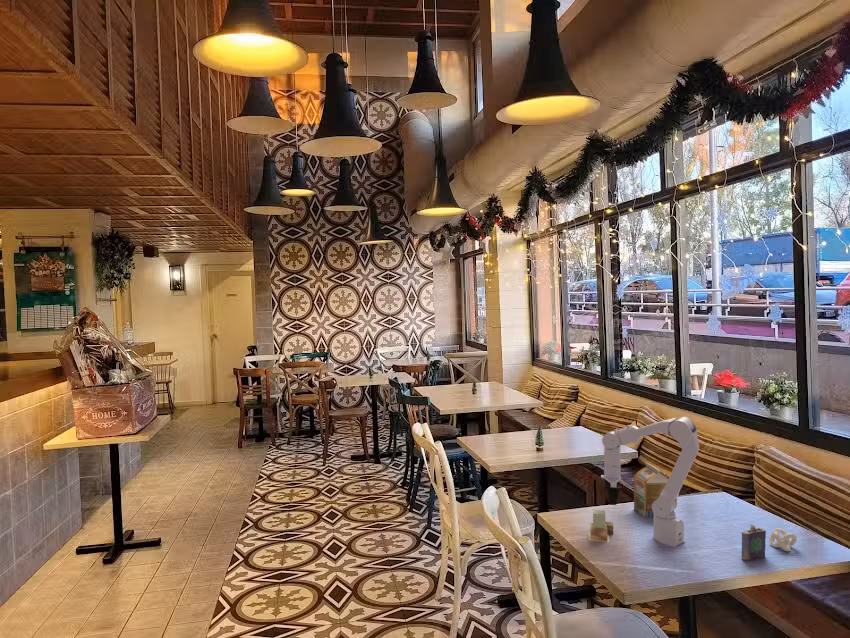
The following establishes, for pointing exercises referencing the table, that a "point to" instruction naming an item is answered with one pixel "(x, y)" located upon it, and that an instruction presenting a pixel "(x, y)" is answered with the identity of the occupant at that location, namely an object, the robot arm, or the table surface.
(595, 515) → the sage block
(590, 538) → the build mat
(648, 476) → the milk carton
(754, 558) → the flask
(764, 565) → the table surface
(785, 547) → the knot
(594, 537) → the oak block
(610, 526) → the walnut block
